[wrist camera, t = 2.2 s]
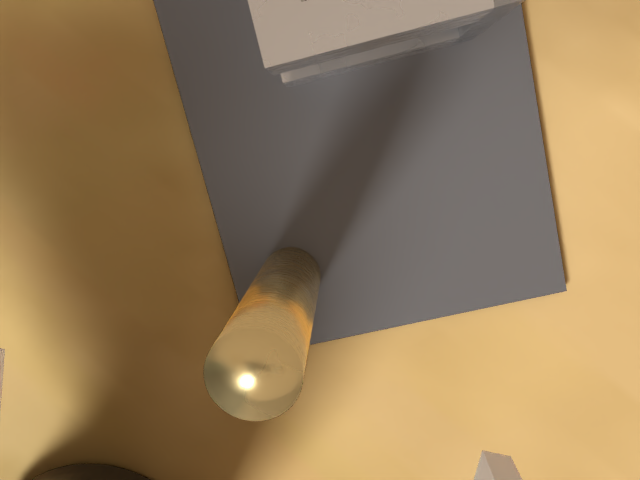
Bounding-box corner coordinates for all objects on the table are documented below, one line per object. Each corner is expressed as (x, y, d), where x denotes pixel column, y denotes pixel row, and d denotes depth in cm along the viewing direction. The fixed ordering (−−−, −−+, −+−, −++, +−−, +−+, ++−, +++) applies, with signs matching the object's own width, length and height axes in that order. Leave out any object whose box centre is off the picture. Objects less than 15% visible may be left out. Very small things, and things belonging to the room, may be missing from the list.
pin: (270, 309, 31) (219, 429, 18) (255, 254, 31) (191, 340, 18) (326, 296, 31) (313, 410, 18) (312, 241, 30) (289, 318, 18)
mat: (256, 353, 32) (254, 356, 32) (135, -72, 28) (131, -76, 27) (563, 288, 31) (566, 290, 30) (488, -177, 26) (491, -183, 26)
